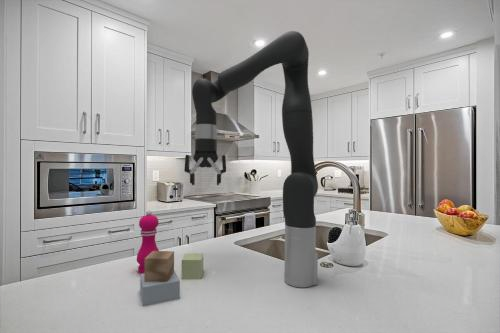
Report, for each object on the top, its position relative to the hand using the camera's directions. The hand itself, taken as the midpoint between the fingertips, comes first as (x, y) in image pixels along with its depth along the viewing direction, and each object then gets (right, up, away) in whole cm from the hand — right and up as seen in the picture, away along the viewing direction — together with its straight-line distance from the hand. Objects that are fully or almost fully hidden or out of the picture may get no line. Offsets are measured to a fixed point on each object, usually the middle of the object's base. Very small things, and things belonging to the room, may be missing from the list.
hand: (205, 184), depth 93 cm
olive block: (-3, -28, -8) cm, 29 cm away
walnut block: (-9, -24, -21) cm, 32 cm away
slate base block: (-9, -29, -21) cm, 36 cm away
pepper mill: (-18, -28, -5) cm, 34 cm away
